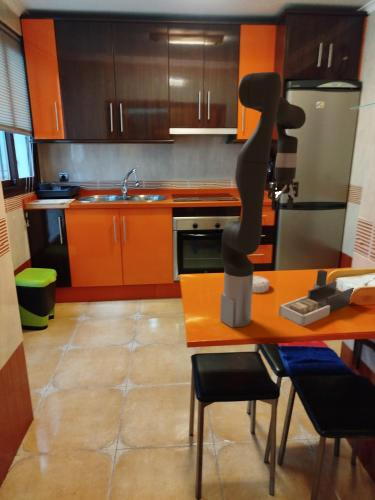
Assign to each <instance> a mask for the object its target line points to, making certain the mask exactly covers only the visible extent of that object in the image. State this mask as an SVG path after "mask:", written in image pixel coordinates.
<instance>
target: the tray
mask: <svg viewBox="0 0 375 500" xmlns="http://www.w3.org/2000/svg"><path fill="white" fill-rule="evenodd" d="M306 299H308V295H307V296H306V295H305V296H302V297H300V298H297V299H294V300H292V301H289V302H286V303H283V304H280V305H279V308H278V316H281V317H283V318H284V319H287V320H289V321H291V322H293V323H294V324H297V325H298V326H301V327H306V326H307V325H309V324H310V325H311V324H313V323H314V322H317V321H319V320H322V319H325V318H326V317H329V316H330V313H329V312H330V306H329V305H327V306H325V307H322V308H320V309H317V310H315V311H312V312H310V313H307V314H305V315H302V314H300V313H298V312H295V311H293V310H291V309H290V306H291V304H294V303H297V302H300V303H301V301H304V300H306Z"/></svg>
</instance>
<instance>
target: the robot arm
mask: <svg viewBox="0 0 375 500" xmlns="http://www.w3.org/2000/svg"><path fill="white" fill-rule="evenodd" d="M282 86H283V85H282V77H281V75H280V73H279V72H277V71H266V72H265V71H264V72H251V73H247V74H245V75H243V76H242V78H241V79H240V81H239V83H238V86H237V87H238V89H237V94H238V95H237V96H238V100H239V102H240V104H241V105H242V106H243V108H247V109H250V110H255V111H257V112H259V113H261V114H260V116H259V119H258V123H257V125H256V127H255V129H254V130H253V132H252V134H251V135H250V136H249V137H248V139H247V140H246V141H245V142H244V144H243V146H242V147H241V149H240V150H239V153H238V154H237V159H236V168H235V185H236V187H237V188H236V189H237V192H238V195H239V198H240V203H241V218H240V221H239V220H231V221H230V222H228V223H226V225H225V227H223V231H222V233H221V262H222V265H223V267H224V268H223V270H224V273H223V293H221V295H220V317H219V318H220V319H219V320H220V321H221V322H222V323H224V324H225V325H227V326H229V327H230V328H231V329H232V328H233V329H234V328H242V327H246V326H248V325H250V324H251V320H252V302H253V301H252V300H253V292H252V287H253V276H254V268H255V267H254V264H253V262H252V260H250V258H249V255H253V254H254V253H255V252H257V250H258V248H259V246H260V245H261V244H260V243H261V241H262V233H263V232H262V231H263V229H262V228H263V207H264V199H265V192H266V191H265V189H266V184H267V183H266V182H267V178H268V171H269V164H270V157H271V155H270V154H271V148H272V142H273V141H272V139H273V134H274V128H275V129H276V135H277V136H276V137H277V151H276V158H275V167H274V168H275V169H274V179H275V182H271V181H270V182H269V184H268V191H267V199H269V200H271V204H270V205H271V207H270V208H271V211H277V210H278V206H279V205H278V204H279V199H280V197H282V195H284V194H285V195H286V197H287V200H286V209H289V210H292V209H293V207H294V199H295V198H298V197H299V185H300V183H299V181H296V180H295V179H296V173H297V172H296V171H297V164H298V163H297V162H298V147H299V146H298V143H299V142H298V141H299V140H298V137H297V136H293V135H288V134H287V131H286V130H299V129H301V128H302V127H303V126H304V125H305V123H306V118H307V117H306V112H305V111H304V109H303V108H302V107H300V106H299V105H296V104H293V103H292V104H291V103H290V102H289V100H287V99H286V98H284V97H283V96H281V95H282ZM294 180H295V181H294Z"/></svg>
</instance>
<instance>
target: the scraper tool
mask: <svg viewBox="0 0 375 500" xmlns="http://www.w3.org/2000/svg"><path fill="white" fill-rule="evenodd" d="M327 277H328V271H327V270H324V269H319V270H317V276H316V283H313V288H312V289H315V288H317V287H320V286H323V285H326V284H327Z"/></svg>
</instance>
